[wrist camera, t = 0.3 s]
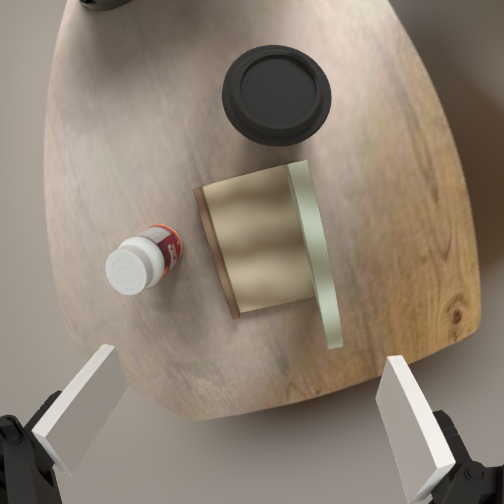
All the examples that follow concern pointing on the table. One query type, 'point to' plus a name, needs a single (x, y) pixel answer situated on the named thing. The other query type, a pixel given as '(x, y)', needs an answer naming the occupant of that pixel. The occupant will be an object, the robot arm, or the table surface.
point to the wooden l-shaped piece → (270, 242)
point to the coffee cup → (276, 95)
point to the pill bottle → (143, 259)
